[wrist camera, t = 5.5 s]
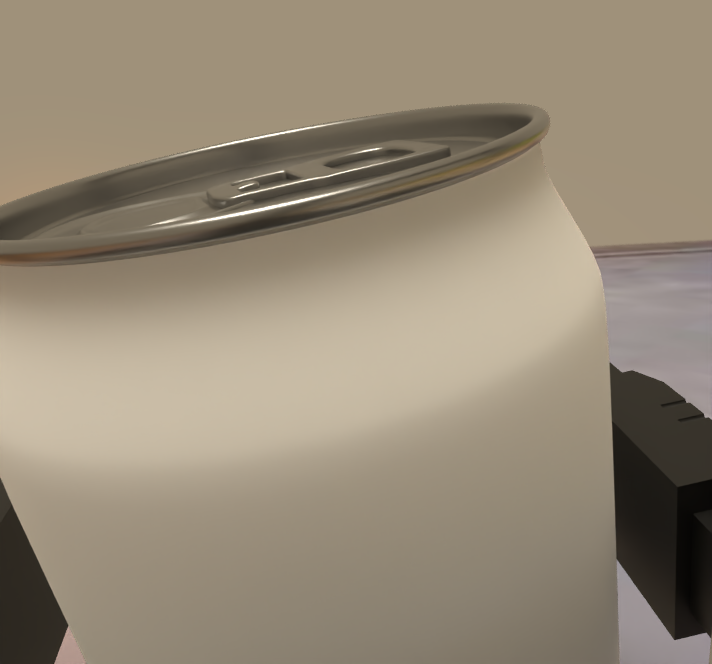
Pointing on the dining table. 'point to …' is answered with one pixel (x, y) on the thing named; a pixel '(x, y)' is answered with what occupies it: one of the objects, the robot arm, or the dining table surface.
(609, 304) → the dining table surface
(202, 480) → the can
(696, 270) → the dining table surface
